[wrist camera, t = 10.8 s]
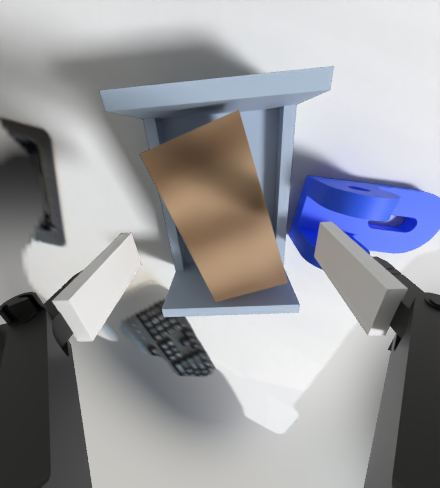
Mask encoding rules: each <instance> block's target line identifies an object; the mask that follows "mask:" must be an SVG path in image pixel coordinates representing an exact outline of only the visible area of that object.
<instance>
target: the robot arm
mask: <svg viewBox="0 0 440 488" xmlns="http://www.w3.org/2000/svg"><path fill="white" fill-rule="evenodd" d="M314 257H315V259H316V260H317V262H318V263H319V265H320V266H321V267H322V269H323V270H324V272H325V273H326V275H327V276H328V278H329V279H330V281H331V282H332V284H333V285H334V287H335V288H336V289H337V291H338V292H339V294H340V295H341V297H342V298H343V300H344V301H345V303H346V304H347V306H348V307H349V309H350V310H351V311H352V313H353V314H354V316H355V317H356V319H357V320H358V322H359V323H360V325H361V326H362V328H363V329H364V330H365V332H366V334H367V335H386V333H387V331H388V329H389V327H390V326H391V327H392V329H393V330H394V331H395V332H396V335H395V337H394V339H393V341H392V343H391V345H390V346H389V348H388V350H390V351H391V354H390V359H389V364H388V369H387V374H386V379H385V384H384V389H383V394H382V399H381V404H380V409H379V414H378V419H377V424H376V429H375V434H374V439H373V444H372V449H371V454H370V459H369V464H368V469H367V474H366V479H365V484H364V488H440V295H437V294H433V293H425V292H423V291H422V290H421V289H420V288H418V287H417V286H416V285H415V284H413V283H412V282H411V281H410V280H409V279H408V278H406V277H405V276H404V275H401V273H400V272H399V271H398V270H397V269H395V268H394V267H393V266H392V265H391V264H389V263H388V262H387V261H385V260H383V259H381V258H379V257H372V256H370V255H369V254H368V253H367V252H366V251H365V250H364V249H363V248H361V247H360V246H359V245H358V244H357V243H356V242H355V241H353V240H352V239H351V238H350V237H349V236H348V235H347V234H345V233H344V232H343V231H342V230H341V229H340V228H339V227H338V226H336V225H335V224H334V223H333V222H332V221H331V222H320V225H319V231H318V237H317V242H316V248H315V254H314ZM141 265H142V264H141V261H140V258H139V254H138V251H137V248H136V245H135V242H134V239H133V236H132V233H121V234H120V235H119V236H118V237H117V238H116V239H115V240H114V241H113V242H112V243H111V244H110V245H109V246H108V247H107V248H106V249H105V250H104V251H103V252H102V253H101V254H100V255H99V256H98V257H96V258H95V259H94V260H93V261H92V262H91V263H90V264H89V265H88V266H87V267H86V268H85V269H84V270H82V271H81V272H79V273H77V274H76V275H74V276H73V277H72V278H71V279H70V280H69V281H68V282H67V283H66V284H64V285H63V286H62V288H61V289H59V290H58V291H57V292H56V293H55V294H54V295H53V296H52V297H51V298H50V299H49V300H48V301H47V302H46V303H44V304H43V303H42V301H41V300H40V298H39V297H38V295H37V294H36V293H34V292H28V293H23V294H20V295H18V296H15V297H13V298H11V299H9V300H8V301H6V302H5V303H3V304H2V305H1V306H0V315H1V316H2V318H3V319H4V320H5V321H6V322H7V323H6V324H2V325H0V488H92V483H91V477H90V470H89V463H88V456H87V450H86V443H85V436H84V429H83V423H82V416H81V409H80V403H79V396H78V389H77V382H76V375H75V368H74V361H73V355H72V348H71V344H70V342H69V341H68V339H69V338H70V337H71V336H72V334H74V336H75V337H76V339H77V340H78V341H93V340H94V338H95V337H96V335H97V334H98V332H99V331H100V329H101V327H102V326H103V324H104V323H105V321H106V320H107V318H108V316H109V315H110V313H111V312H112V310H113V309H114V307H115V305H116V304H117V302H118V301H119V299H120V298H121V296H122V295H123V293H124V291H125V290H126V288H127V287H128V285H129V284H130V282H131V280H132V279H133V277H134V276H135V274H136V273H137V271H138V269H139V268H140V266H141Z"/></svg>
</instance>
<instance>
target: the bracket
mask: <svg viewBox="0 0 440 488" xmlns="http://www.w3.org/2000/svg"><path fill="white" fill-rule="evenodd" d="M391 215H395V216H403V217H406V218H405V221H404V222H403V223H402V224H401V225H399V226H397V227H391V226H383V225H375V224H368V221H369V220H372V221H387V220H389V219H390V217H391ZM331 221H332V222H333V223H334V224H335V225H336V226H338V227H339V228H340V229H341V230H342V231H343V232H344V233H345V234H347V235H348V236H349V237H350V238H351V239H352V240H353V241H355V242H356V243H357V244H358V245H359V246H360V247H361V248H363V249H364V250H365V251H366V252H367V253H368V254H369V255H370V252H369V250H370V251H378V252H386V253H404V252H408V251H411V250H414V249H416V248H418V247H420V246H422V245H423V244H425V243H426V242H428V241H429V240H430V239H431V238H432V237H433V236H434V235H435V234H436V233H437V232H438V231H439V229H440V198H439V197H438V196H436V195H434V194H431V193H427V192H424V191H420V190H416V189H409V188H401V187H394V186H386V185H379V184H371V183H363V182H356V181H348V180H340V179H333V178H325V177H317V176H310V175H307V177H306V180H305V184H304V187H303V190H302V193H301V197H300V200H299V203H298V206H297V210H296V213H295V216H294V219H293V222H292V226H291V229H290V232H289V237H290V238H291V240H292V241H293V243H294V245H295V246H296V248H297V249H298V251H299V253H300V254H301V256H302V257H303V258H304V259H305V260H306V261H308V262H309V263H311V264H312V265H314V266H316V267H318V268H320V269H322V267H321V266H320V265H319V263H318V262H317V260H316V259H315V257H314V254H315V248H316V242H317V237H318V231H319V225H320V222H331ZM322 270H323V269H322Z"/></svg>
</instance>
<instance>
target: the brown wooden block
mask: <svg viewBox="0 0 440 488" xmlns="http://www.w3.org/2000/svg"><path fill="white" fill-rule="evenodd" d="M140 156H141V158H142V160H143V162H144V164H145V166H146V168H147V170H148V172H149V174H150V176H151V178H152V180H153V182H154V184H155V186H156V187H157V189H158V191H159V193H160V195H161V197H162V199H163V201H164V203H165V205H166V207H167V209H168V211H169V213H170V215H171V217H172V218H173V220H174V222H175V224H176V226H177V228H178V230H179V232H180V234H181V236H182V238H183V240H184V242H185V244H186V246H187V248H188V249H189V251H190V253H191V255H192V257H193V259H194V261H195V263H196V265H197V267H198V269H199V271H200V273H201V275H202V277H203V279H204V281H205V282H206V284H207V286H208V288H209V290H210V292H211V294H212V296H213V298H214V300H215V302H218V301H222V300H226V299H229V298H233V297H237V296H241V295H244V294H248V293H252V292H256V291H259V290H263V289H267V288H271V287H274V286H278V285H282V284H286V283H288V281H287V277H286V274H285V270H284V267H283V263H282V260H281V256H280V253H279V249H278V246H277V242H276V239H275V235H274V231H273V228H272V224H271V221H270V217H269V214H268V210H267V207H266V203H265V200H264V196H263V193H262V189H261V186H260V182H259V179H258V175H257V172H256V168H255V165H254V161H253V158H252V154H251V150H250V147H249V143H248V140H247V136H246V133H245V129H244V126H243V122H242V119H241V115H240V112H239V110H237V111H234V112H232V113H230V114H228V115H226V116H223V117H221V118H219V119H217V120H214V121H212V122H210V123H208V124H205V125H203V126H201V127H199V128H197V129H194V130H192V131H190V132H188V133H185V134H183V135H181V136H179V137H177V138H174V139H172V140H170V141H168V142H165V143H163V144H161V145H159V146H157V147H154V148H152V149H150V150H148V151H145V152H143V153H141V154H140Z"/></svg>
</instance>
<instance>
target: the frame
mask: <svg viewBox="0 0 440 488" xmlns="http://www.w3.org/2000/svg"><path fill="white" fill-rule="evenodd" d="M333 68H334V66H329V67H320V68H310V69H300V70H291V71H281V72H271V73H262V74H252V75H243V76H233V77H223V78H214V79H204V80H194V81H185V82H175V83H165V84H156V85H146V86H137V87H127V88H117V89H108V90H99V91H100V94H101V98H102V101H103V105H104V108H105V112H110V113H115V114H120V115H125V116H130V117H135V118H140V119H143V122H144V126H145V131H146V136H147V140H148V145H149V150H150V149H152V148H154V147H157V146H159V145H161V144H163V143H165V142H168V141H170V140H172V139H174V138H177V137H179V136H181V135H183V134H185V133H188V132H190V131H192V130H194V129H197V128H199V127H201V126H203V125H205V124H208V123H210V122H212V121H214V120H217V119H219V118H221V117H223V116H226V115H228V114H230V113H232V112H234V111H237V110H239V112H240V115H241V119H242V122H243V126H244V129H245V133H246V136H247V140H248V143H249V147H250V150H251V154H252V158H253V161H254V165H255V168H256V172H257V175H258V179H259V182H260V186H261V189H262V193H263V196H264V200H265V203H266V207H267V210H268V214H269V217H270V221H271V224H272V228H273V231H274V235H275V239H276V242H277V246H278V249H279V253H280V256H281V260H282V263H283V265H284V253H285V241H286V228H287V216H288V204H289V192H290V180H291V168H292V156H293V144H294V132H295V120H296V107H297V104H299V103H302V102H304V101H306V100H308V99H311V98H313V97H315V96H317V95H320V94H322V93H324V92H327V91H329V90H330V89H331V82H332V75H333ZM159 196H160V200H161V205H162V210H163V214H164V219H165V224H166V228H167V233H168V237H169V242H170V247H171V251H172V256H173V261H174V265H175V270H176V273H175V276H174V278H173V281H172V284H171V286H170V289H169V292H168V294H167V297H166V300H165V302H164V305H163V308H162V312H163V315H164V317H181V316H211V315H241V314H271V313H299V306H300V304H299V302H298V299H297V297H296V295H295V292H294V290H293V288H292V286H291V283H290V281H289V279H288V276H287V274H286V272H285V274H286V277H287V281H288V283H286V284H282V285H278V286H274V287H271V288H267V289H263V290H259V291H256V292H252V293H248V294H244V295H241V296H237V297H233V298H229V299H226V300H222V301H218V302H215V300H214V298H213V296H212V294H211V292H210V290H209V288H208V286H207V284H206V282H205V281H204V279H203V277H202V275H201V273H200V271H199V269H198V267H197V265H196V263H195V261H194V259H193V257H192V255H191V253H190V251H189V249H188V248H187V246H186V244H185V242H184V240H183V238H182V236H181V234H180V232H179V230H178V228H177V226H176V224H175V222H174V220H173V218H172V217H171V215H170V213H169V211H168V209H167V207H166V205H165V203H164V201H163V199H162V197H161V195H160V193H159ZM284 270H285V269H284Z"/></svg>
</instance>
